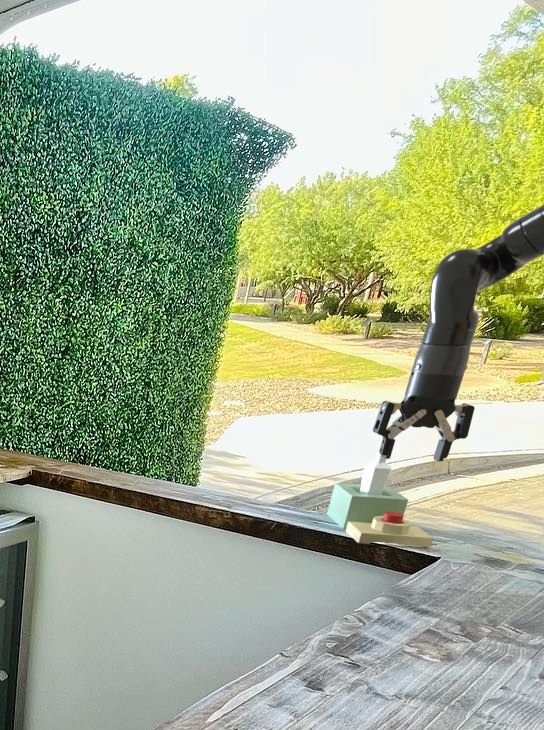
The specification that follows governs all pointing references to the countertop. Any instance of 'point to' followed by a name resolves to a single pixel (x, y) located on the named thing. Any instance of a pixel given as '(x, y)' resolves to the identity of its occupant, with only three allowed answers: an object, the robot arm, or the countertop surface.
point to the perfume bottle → (375, 476)
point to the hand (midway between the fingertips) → (411, 459)
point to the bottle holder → (362, 504)
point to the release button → (393, 517)
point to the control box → (388, 533)
